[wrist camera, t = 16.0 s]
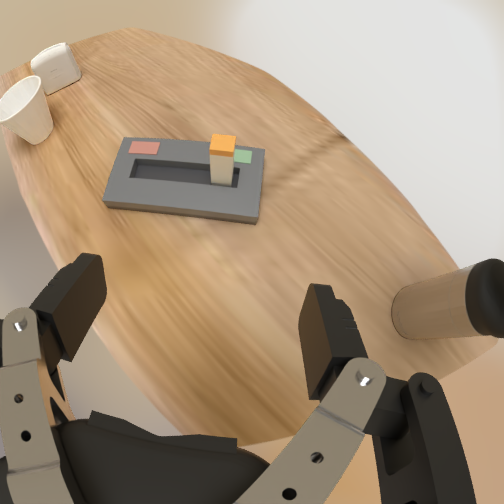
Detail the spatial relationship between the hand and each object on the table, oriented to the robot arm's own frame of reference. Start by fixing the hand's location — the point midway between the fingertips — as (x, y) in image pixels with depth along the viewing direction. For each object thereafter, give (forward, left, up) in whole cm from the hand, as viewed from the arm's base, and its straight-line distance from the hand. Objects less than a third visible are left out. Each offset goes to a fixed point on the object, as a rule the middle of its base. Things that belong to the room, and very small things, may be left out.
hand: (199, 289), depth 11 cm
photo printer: (+17, -63, -31) cm, 72 cm away
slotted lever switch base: (-3, -22, -31) cm, 38 cm away
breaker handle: (-9, -19, -29) cm, 36 cm away
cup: (+23, -49, -31) cm, 62 cm away
